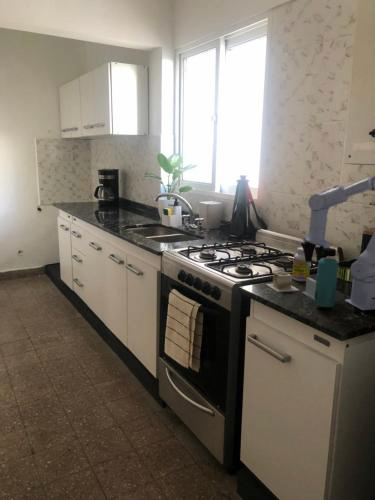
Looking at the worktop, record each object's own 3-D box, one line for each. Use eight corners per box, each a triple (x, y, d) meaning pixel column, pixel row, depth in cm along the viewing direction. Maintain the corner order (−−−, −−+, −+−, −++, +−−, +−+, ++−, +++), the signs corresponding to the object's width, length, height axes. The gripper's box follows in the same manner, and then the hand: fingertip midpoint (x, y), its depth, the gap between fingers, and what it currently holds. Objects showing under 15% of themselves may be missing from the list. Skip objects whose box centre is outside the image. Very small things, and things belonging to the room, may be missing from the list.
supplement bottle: (288, 279, 170) (291, 248, 167) (297, 276, 174) (300, 246, 172) (302, 282, 165) (305, 251, 162) (312, 280, 170) (315, 248, 167)
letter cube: (291, 288, 156) (292, 274, 155) (278, 289, 155) (279, 275, 153) (284, 284, 161) (285, 271, 159) (272, 285, 159) (273, 271, 158)
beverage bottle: (338, 310, 135) (345, 250, 131) (320, 312, 133) (326, 251, 129) (326, 304, 141) (332, 246, 137) (309, 305, 139) (314, 246, 135)
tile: (299, 290, 155) (299, 289, 155) (277, 292, 152) (277, 290, 152) (286, 283, 163) (287, 282, 163) (265, 284, 161) (266, 283, 161)
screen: (321, 300, 145) (323, 283, 144) (314, 300, 144) (316, 283, 143) (309, 293, 153) (310, 277, 151) (302, 293, 152) (304, 277, 150)
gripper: (297, 224, 157) (294, 259, 160) (319, 231, 144) (315, 269, 147) (313, 224, 159) (310, 258, 162) (337, 230, 146) (332, 268, 149)
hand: (313, 263), depth 155 cm, fingers open, 7 cm apart
